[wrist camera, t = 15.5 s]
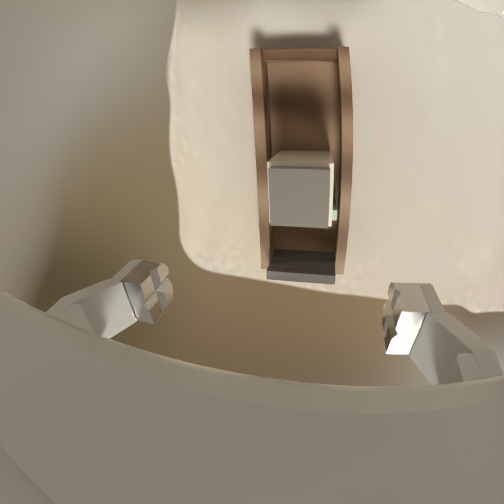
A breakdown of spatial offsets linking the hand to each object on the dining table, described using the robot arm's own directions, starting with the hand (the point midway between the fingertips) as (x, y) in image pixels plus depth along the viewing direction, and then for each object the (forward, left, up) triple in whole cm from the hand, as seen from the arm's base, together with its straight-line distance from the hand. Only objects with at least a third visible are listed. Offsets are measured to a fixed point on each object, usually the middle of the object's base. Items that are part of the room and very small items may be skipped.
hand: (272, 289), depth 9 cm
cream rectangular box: (0, 0, -21) cm, 21 cm away
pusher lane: (-1, -1, -22) cm, 22 cm away
